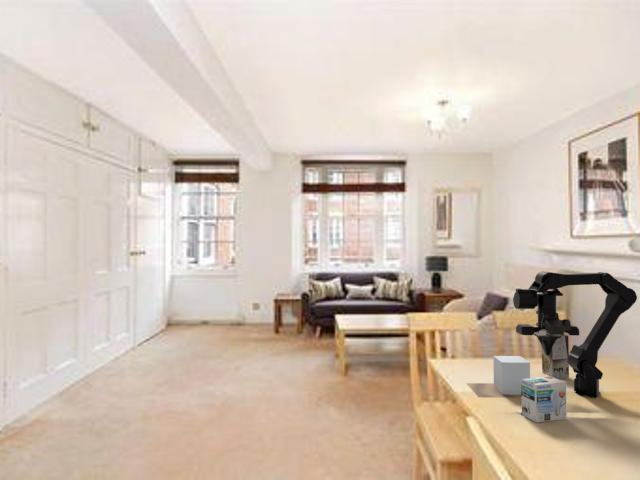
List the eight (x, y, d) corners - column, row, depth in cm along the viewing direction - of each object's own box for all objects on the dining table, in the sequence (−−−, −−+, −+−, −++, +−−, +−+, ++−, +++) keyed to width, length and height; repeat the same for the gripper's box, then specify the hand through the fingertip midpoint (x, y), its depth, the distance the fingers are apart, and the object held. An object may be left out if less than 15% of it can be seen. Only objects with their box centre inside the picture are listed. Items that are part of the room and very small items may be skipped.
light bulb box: (536, 423, 130) (536, 385, 130) (520, 415, 137) (519, 378, 137) (567, 419, 133) (567, 381, 133) (550, 411, 140) (549, 375, 140)
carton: (520, 386, 160) (520, 356, 160) (530, 394, 151) (529, 362, 151) (493, 386, 161) (493, 355, 161) (502, 394, 152) (501, 362, 152)
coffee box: (570, 378, 173) (569, 335, 173) (552, 378, 173) (551, 335, 173) (557, 372, 182) (557, 331, 182) (541, 372, 182) (540, 331, 182)
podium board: (523, 387, 163) (523, 383, 163) (541, 401, 148) (541, 397, 148) (466, 386, 164) (466, 383, 164) (478, 400, 149) (478, 397, 149)
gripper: (528, 312, 148) (528, 361, 148) (588, 312, 147) (588, 361, 147) (515, 307, 159) (515, 353, 159) (570, 307, 158) (571, 353, 158)
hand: (547, 355), depth 156 cm, fingers closed
